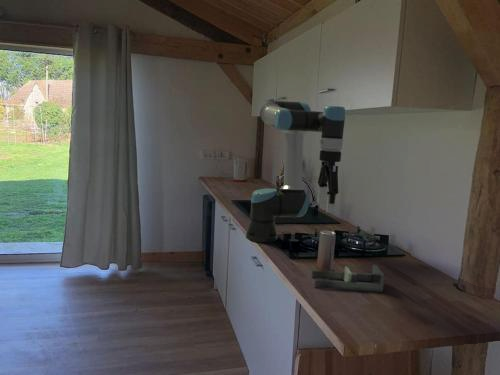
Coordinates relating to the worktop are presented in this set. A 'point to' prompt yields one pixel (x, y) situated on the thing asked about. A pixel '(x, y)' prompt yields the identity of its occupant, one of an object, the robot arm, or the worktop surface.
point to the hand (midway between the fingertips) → (325, 208)
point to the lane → (375, 277)
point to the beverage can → (326, 251)
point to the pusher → (349, 275)
